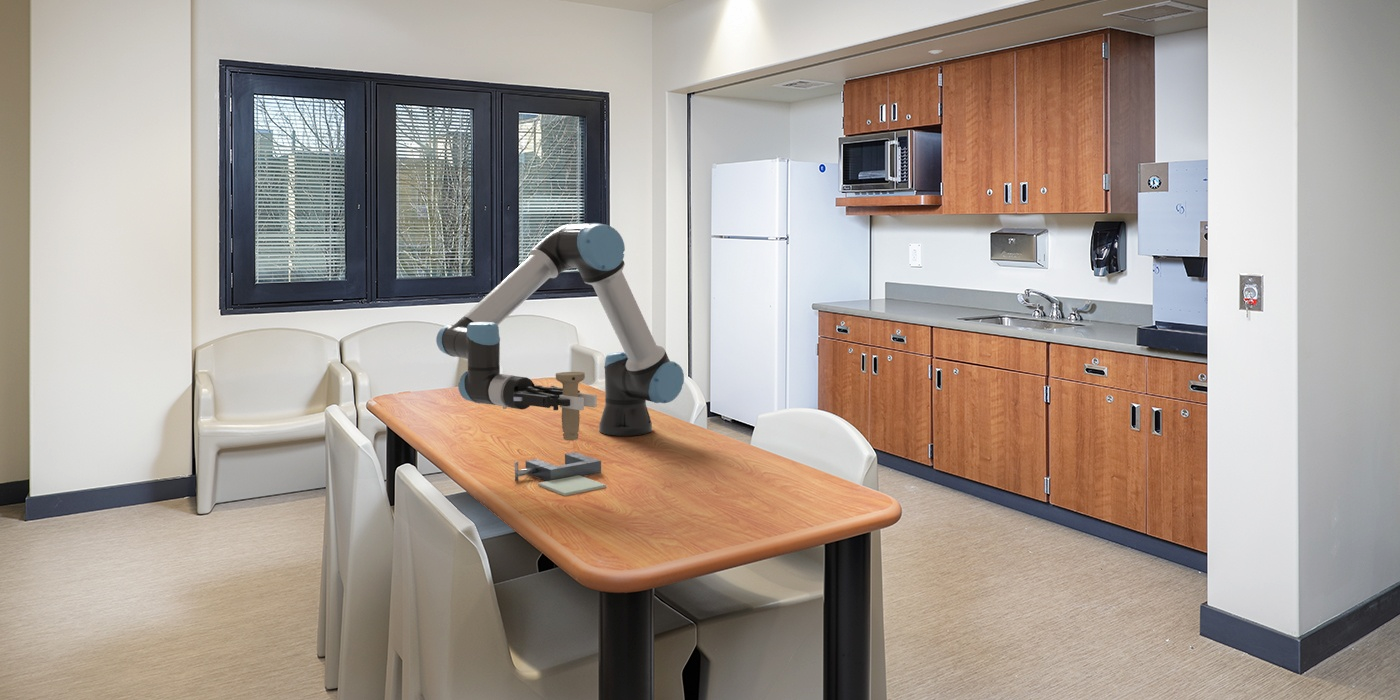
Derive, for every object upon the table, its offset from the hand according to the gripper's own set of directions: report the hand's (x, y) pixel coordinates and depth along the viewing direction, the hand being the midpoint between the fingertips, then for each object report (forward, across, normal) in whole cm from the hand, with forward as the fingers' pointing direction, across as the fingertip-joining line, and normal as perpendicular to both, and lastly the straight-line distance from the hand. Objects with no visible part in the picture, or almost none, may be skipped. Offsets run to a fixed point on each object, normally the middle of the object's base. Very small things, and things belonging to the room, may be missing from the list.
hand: (588, 402), depth 212 cm
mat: (-5, 0, -20) cm, 20 cm away
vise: (-16, -5, -20) cm, 26 cm away
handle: (-5, 0, -9) cm, 11 cm away
